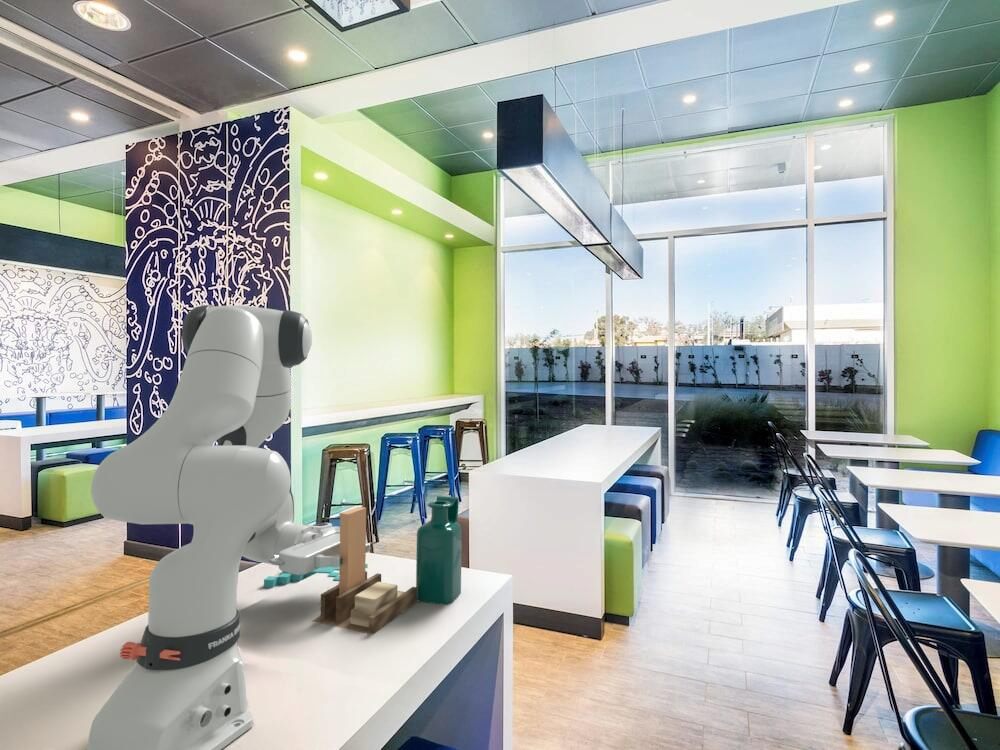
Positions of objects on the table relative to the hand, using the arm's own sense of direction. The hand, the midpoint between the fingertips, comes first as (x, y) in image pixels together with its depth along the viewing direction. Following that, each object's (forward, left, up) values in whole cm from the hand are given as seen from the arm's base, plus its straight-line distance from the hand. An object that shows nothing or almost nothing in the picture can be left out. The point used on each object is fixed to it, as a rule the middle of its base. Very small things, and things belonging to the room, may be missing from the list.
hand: (355, 554), depth 114 cm
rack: (0, -3, -13) cm, 13 cm away
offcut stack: (-1, -6, -11) cm, 12 cm away
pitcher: (+11, -15, -13) cm, 22 cm away
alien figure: (+20, +18, -13) cm, 30 cm away
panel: (0, +1, -11) cm, 11 cm away
